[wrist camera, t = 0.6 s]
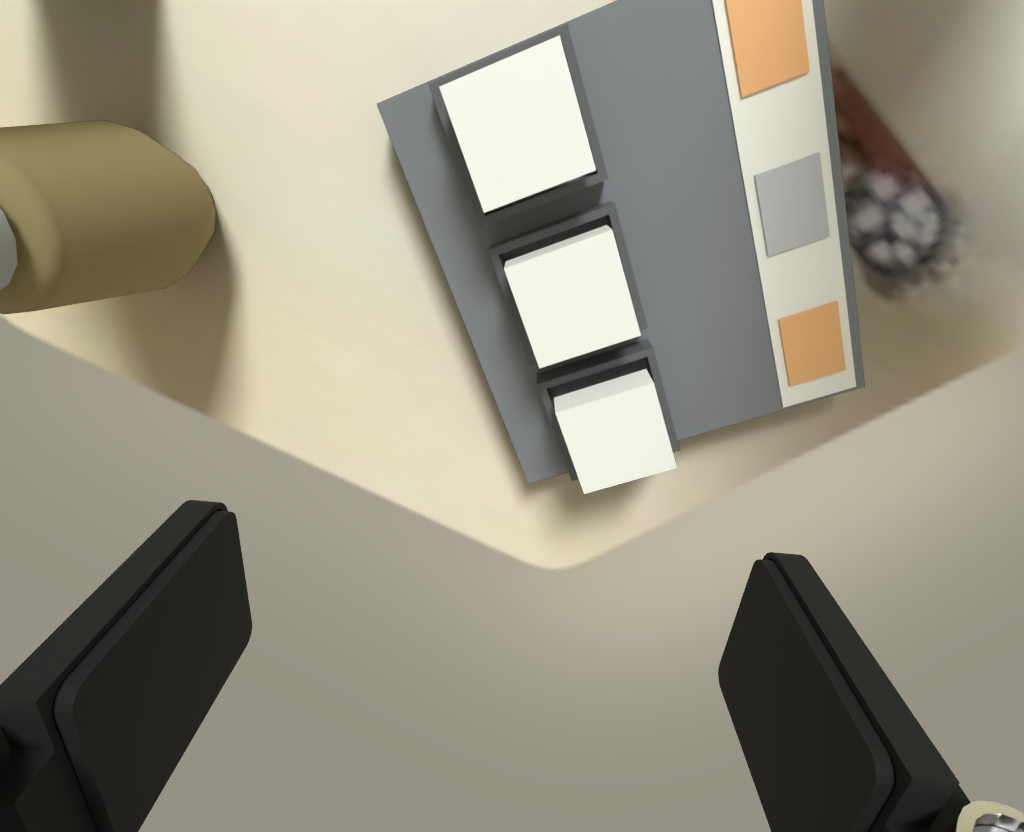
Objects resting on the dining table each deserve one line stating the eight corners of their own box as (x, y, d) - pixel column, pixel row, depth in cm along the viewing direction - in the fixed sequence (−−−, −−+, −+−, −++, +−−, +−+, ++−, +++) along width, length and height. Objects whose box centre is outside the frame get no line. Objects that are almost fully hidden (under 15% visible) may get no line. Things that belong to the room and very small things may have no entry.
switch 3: (646, 368, 29) (653, 382, 27) (668, 449, 31) (677, 467, 29) (553, 397, 30) (555, 413, 28) (581, 474, 32) (584, 494, 30)
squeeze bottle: (263, 254, 32) (-10, 351, 16) (143, 294, 34) (-224, 423, 17) (190, 102, 29) (-242, 29, 13) (61, 152, 30) (-483, 145, 14)
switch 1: (557, 44, 23) (559, 35, 21) (591, 169, 25) (596, 170, 23) (445, 92, 24) (439, 86, 22) (487, 209, 26) (483, 212, 24)
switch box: (784, -59, 26) (833, -101, 22) (838, 368, 34) (881, 397, 30) (390, 108, 29) (367, 100, 25) (528, 460, 37) (528, 497, 33)
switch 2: (606, 224, 26) (612, 229, 24) (634, 324, 28) (640, 335, 26) (505, 261, 27) (503, 268, 25) (538, 355, 29) (539, 368, 27)
